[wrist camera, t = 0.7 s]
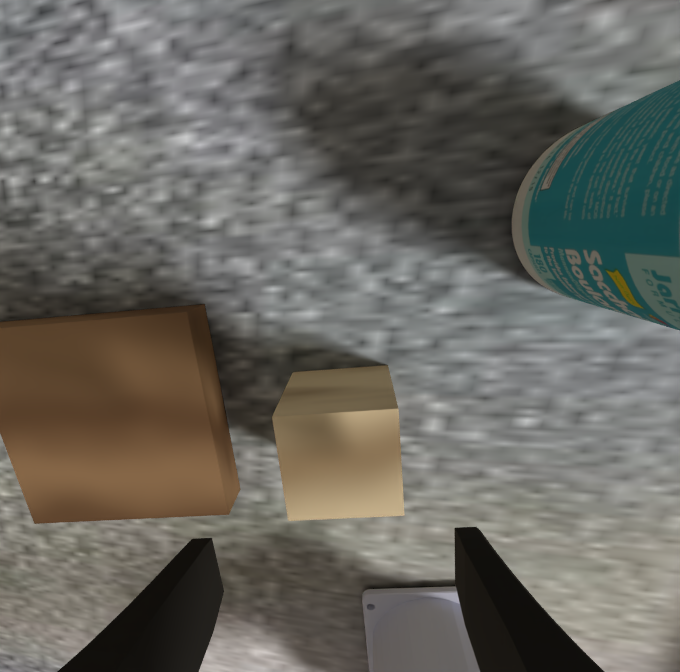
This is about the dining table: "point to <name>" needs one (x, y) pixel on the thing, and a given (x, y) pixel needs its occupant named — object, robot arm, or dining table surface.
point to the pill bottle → (609, 211)
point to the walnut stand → (116, 416)
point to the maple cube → (340, 444)
